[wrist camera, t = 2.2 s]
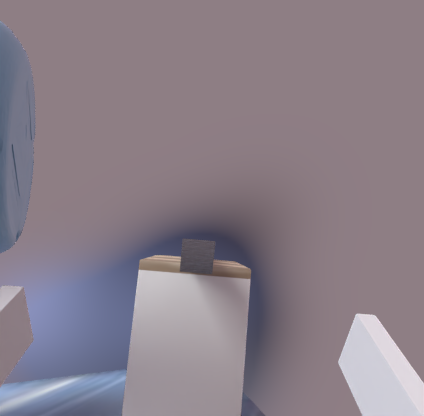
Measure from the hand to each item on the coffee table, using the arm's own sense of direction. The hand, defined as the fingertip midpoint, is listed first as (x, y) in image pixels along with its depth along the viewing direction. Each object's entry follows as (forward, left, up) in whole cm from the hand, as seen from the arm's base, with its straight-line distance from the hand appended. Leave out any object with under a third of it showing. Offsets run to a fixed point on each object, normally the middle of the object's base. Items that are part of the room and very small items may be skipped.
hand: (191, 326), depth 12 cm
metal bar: (-14, +24, +1) cm, 28 cm away
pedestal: (-16, +28, -29) cm, 44 cm away
